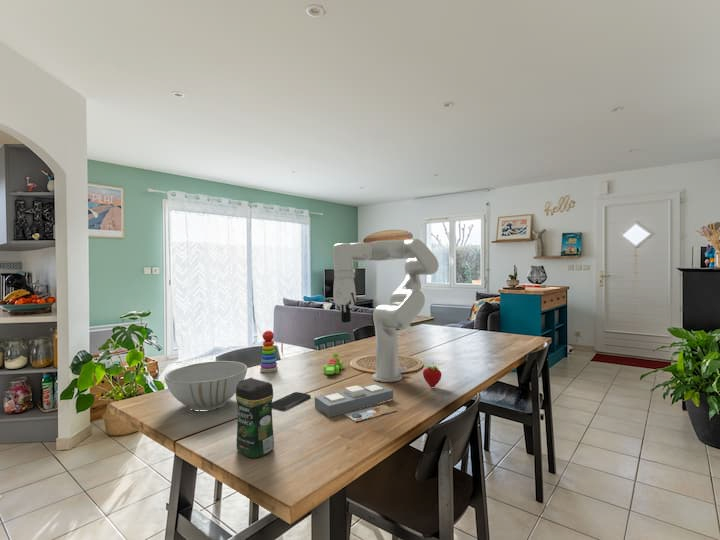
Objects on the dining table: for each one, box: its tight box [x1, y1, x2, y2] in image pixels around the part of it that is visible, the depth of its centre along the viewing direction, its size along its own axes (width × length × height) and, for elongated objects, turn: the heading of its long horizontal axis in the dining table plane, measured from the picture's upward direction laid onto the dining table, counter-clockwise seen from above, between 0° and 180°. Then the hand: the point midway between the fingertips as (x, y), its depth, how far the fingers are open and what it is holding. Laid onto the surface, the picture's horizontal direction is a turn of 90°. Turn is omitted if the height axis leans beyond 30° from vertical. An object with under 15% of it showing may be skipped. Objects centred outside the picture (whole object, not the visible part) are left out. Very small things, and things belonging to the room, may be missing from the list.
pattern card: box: [344, 406, 376, 421], centre depth 120 cm, size 16×7×1 cm, turn 123°
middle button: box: [344, 385, 365, 397], centre depth 129 cm, size 5×5×4 cm
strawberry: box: [422, 362, 443, 388], centre depth 145 cm, size 6×8×10 cm
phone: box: [272, 391, 311, 411], centre depth 132 cm, size 8×1×15 cm
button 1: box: [325, 393, 345, 402], centre depth 125 cm, size 5×5×4 cm
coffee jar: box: [235, 377, 275, 459], centre depth 97 cm, size 10×8×19 cm
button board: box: [314, 382, 394, 418], centre depth 129 cm, size 26×10×4 cm, turn 123°
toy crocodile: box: [323, 353, 344, 375], centre depth 170 cm, size 20×7×6 cm, turn 171°
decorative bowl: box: [164, 360, 248, 412], centre depth 130 cm, size 27×27×12 cm
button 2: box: [364, 385, 383, 393], centre depth 133 cm, size 5×5×4 cm
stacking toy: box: [259, 330, 279, 374], centre depth 172 cm, size 8×8×19 cm
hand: (346, 321), depth 144 cm, fingers closed
